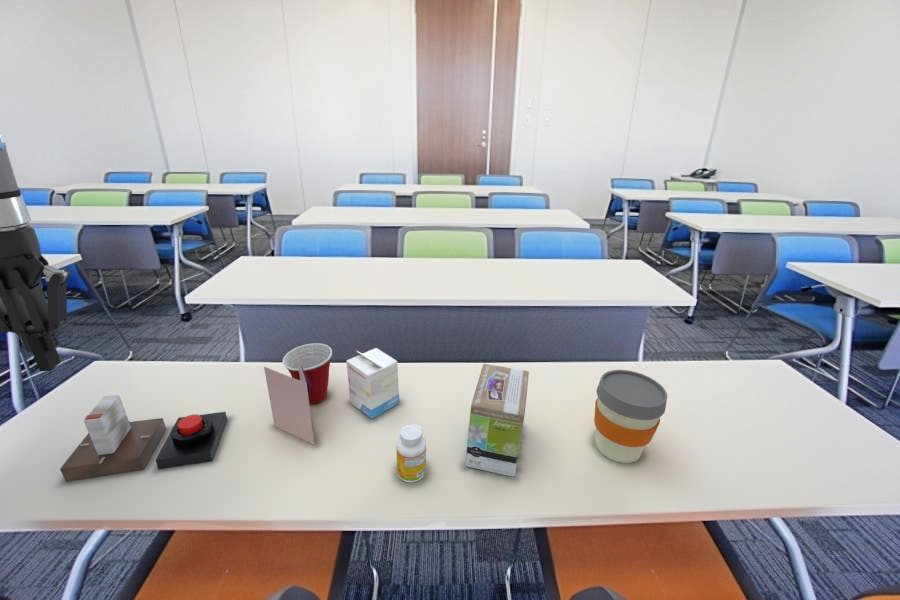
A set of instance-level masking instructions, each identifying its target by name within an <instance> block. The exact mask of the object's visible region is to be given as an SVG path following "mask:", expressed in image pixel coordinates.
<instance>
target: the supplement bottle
mask: <svg viewBox="0 0 900 600" xmlns="http://www.w3.org/2000/svg"><path fill="white" fill-rule="evenodd" d="M424 437H425V436H423V429H422V427H421V426H419V425H417V424H413V423H412V424H411V423H410V424H407V425H404V426H403V427H402V428H401V429H400V432H399V437H398V439H397V441H396V446H395V447H396V473H397V476H398V478H399V479H400V480H401V481H403V482H405V483H416V482H418V481H420V480H422V479H423V478H424V477H425V475H426V471H427V442H426V439H425V438H424Z"/></svg>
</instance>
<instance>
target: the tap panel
mask: <svg viewBox="0 0 900 600" xmlns="http://www.w3.org/2000/svg"><path fill="white" fill-rule="evenodd" d="M129 423H130V426H131V429H130V430H129V432H128V433H127V435H126V436H125V438H124V439H123V440H122V442H121V443H120V445H119V446H118V448H117V449H116V451H115V452H114V453H112V454H105V455H98V454H97V451H96V449H95V447H94V444H93V442H92V440H91V437H90V435H89V432H88V433H87V434H86V435H85V437H84V438H83V439H82V441H81V442H79V444H78V446H77V447H76V448H75V449H74V451H73V452H72V453H71V454H70V456H69V457H68V458H67V459H66V460H65V462H64V463H63V464H62V466H60V468H59V470H60V472H61V474H62V477H63V478H64V481H65V482H71V481H78V480H84V479H91V478H97V477H105V476H110V475H111V476H112V475H118V474H123V473H130V472H138V471H143V470H145V468H146V467H147V465H148V463H149V461H150V460H151V458H152V456H153V454H154V452H155V451H156V449H157V447H158V445H159V444H160V441H161V439H162V438H163V436H164V434H165V432H166V431H167V427H166V424H165V420H164V418H163V417H158V418H150V419H142V420H135V421H130V420H129Z"/></svg>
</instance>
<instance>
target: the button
mask: <svg viewBox="0 0 900 600" xmlns="http://www.w3.org/2000/svg"><path fill="white" fill-rule="evenodd" d="M200 415H201V414H190V415H185V416H183V417H184V418H183V419H181V420H180V421H179V422H178V428H179V431H180V434H182V435H191V434H193V433H196V432H198V431H199V430H201V429H202V427H203V421H202V418H201V416H200Z"/></svg>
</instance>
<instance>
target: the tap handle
mask: <svg viewBox="0 0 900 600" xmlns="http://www.w3.org/2000/svg"><path fill="white" fill-rule="evenodd" d="M129 421H130V420H129V418H128V415H127V412H126V410H125V406H124V404H123V402H122V398H121V396H120V394H114V395H105V396H103V397H102V398H101V400H99V401H98V403H97V404H96V405H95V406H94V408H93V409H92V410H91V411H90V412H89V414H87V415H86V416H85V418H84V420H83V423H84V425H85V427H86V430H87V432H88V433H89V435H90V437H91V440H92V442H93V444H94V447H95V449H96V451H97V454H98V455H105V454H112V453H114V452H115V451H116V449H117V448H118V446H119V445H120V443H121V442H122V440H123V439H124V438H125V436H126V435H127V433H128V432H129V430H130V429H131V426H130V423H129Z"/></svg>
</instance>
